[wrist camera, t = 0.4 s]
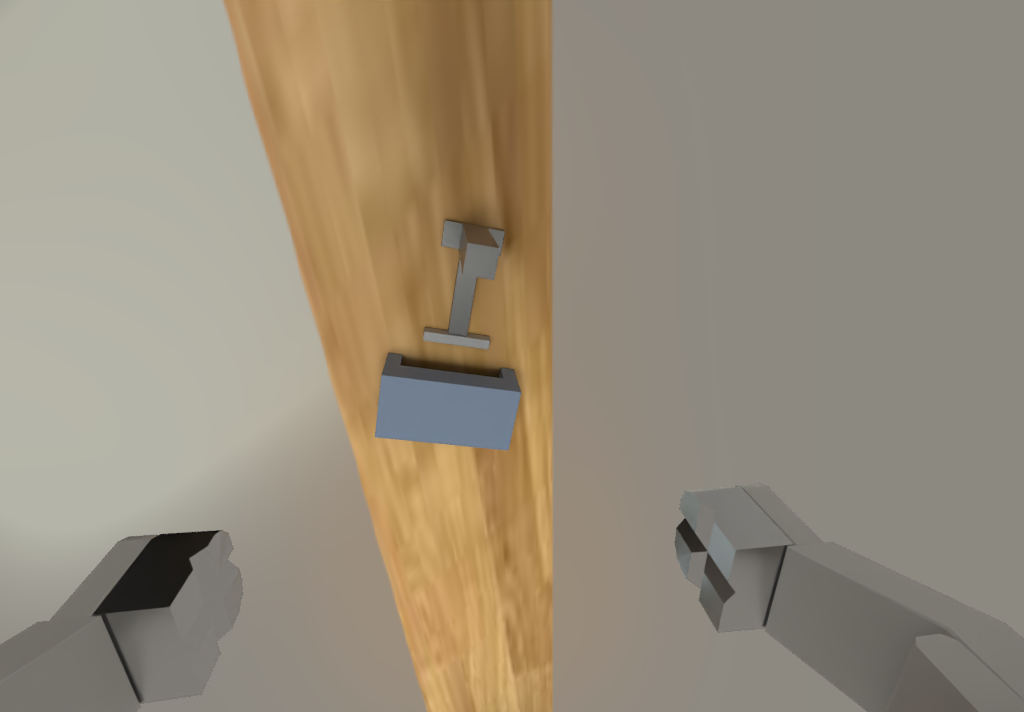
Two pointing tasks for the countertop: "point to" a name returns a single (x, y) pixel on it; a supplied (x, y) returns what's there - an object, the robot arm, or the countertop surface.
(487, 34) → the countertop surface
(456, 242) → the scraper
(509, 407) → the blue-grey bridge block
